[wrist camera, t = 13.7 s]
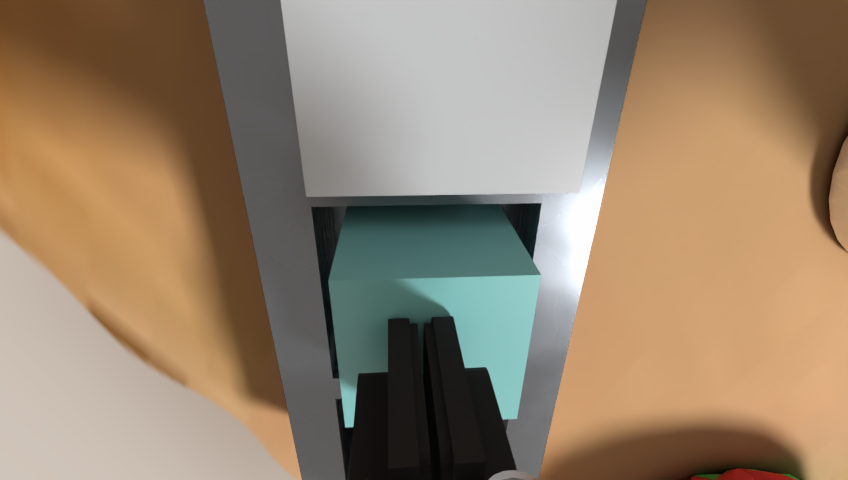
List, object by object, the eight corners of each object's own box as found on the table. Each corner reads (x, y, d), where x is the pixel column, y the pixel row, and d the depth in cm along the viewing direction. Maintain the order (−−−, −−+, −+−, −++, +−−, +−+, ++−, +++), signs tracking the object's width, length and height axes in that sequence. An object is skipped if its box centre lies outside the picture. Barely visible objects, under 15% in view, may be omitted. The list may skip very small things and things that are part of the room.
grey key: (533, -82, 10) (650, -170, 5) (510, 130, 12) (579, 192, 8) (320, -89, 9) (256, -186, 5) (338, 131, 12) (305, 196, 7)
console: (590, -118, 12) (690, -190, 8) (508, 417, 23) (532, 502, 19) (241, -130, 12) (159, -215, 7) (324, 426, 22) (309, 517, 18)
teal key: (495, 196, 14) (541, 275, 10) (483, 313, 17) (516, 418, 12) (348, 199, 14) (328, 280, 9) (358, 317, 16) (345, 427, 12)
